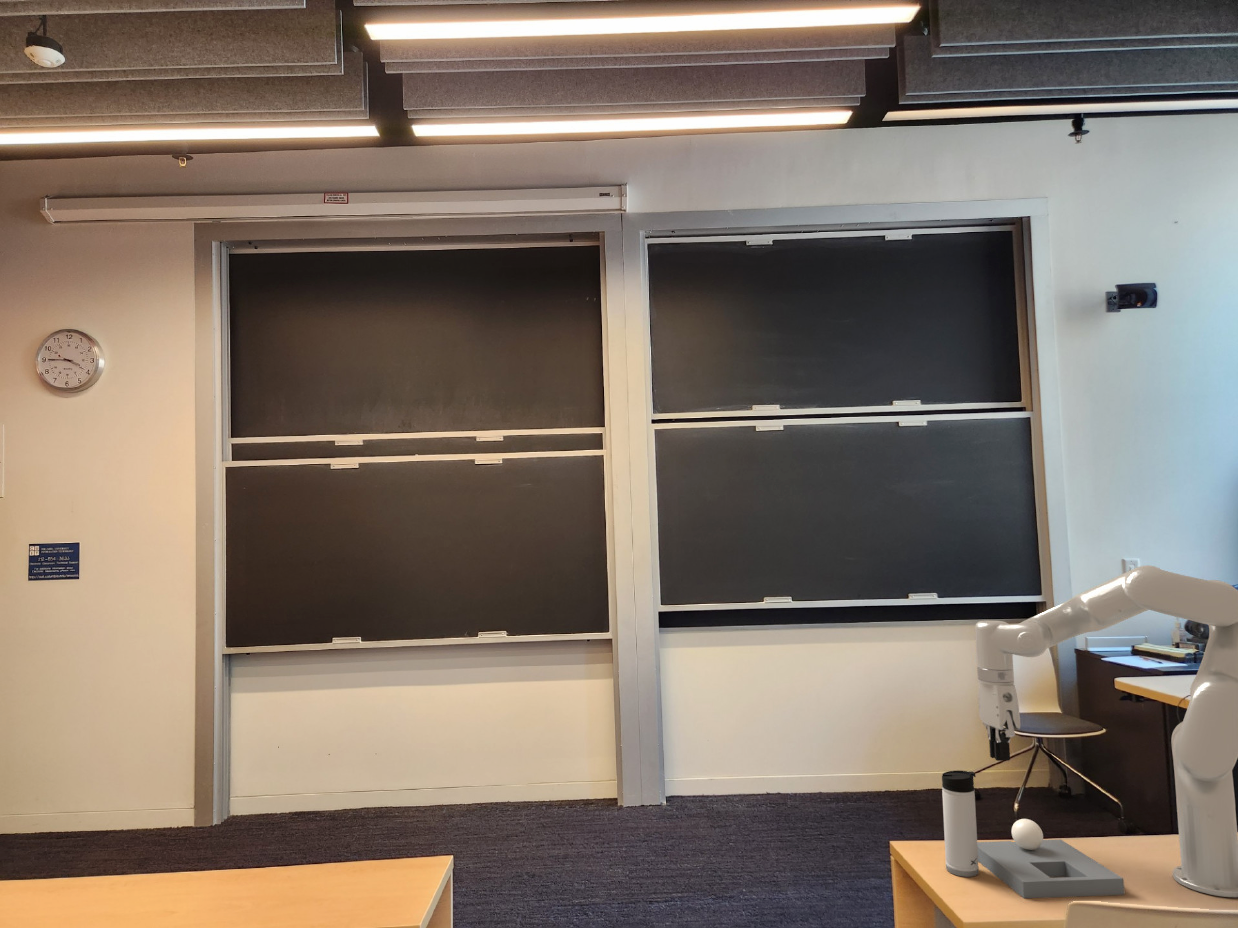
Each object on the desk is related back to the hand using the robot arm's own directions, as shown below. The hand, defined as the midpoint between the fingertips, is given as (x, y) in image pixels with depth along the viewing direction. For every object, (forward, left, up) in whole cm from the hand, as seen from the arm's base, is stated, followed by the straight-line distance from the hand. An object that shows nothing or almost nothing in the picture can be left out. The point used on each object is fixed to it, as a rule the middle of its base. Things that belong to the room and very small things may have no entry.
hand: (1000, 758), depth 179 cm
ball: (0, +9, -13) cm, 16 cm away
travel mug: (+16, +12, -19) cm, 28 cm away
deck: (0, +15, -19) cm, 24 cm away
